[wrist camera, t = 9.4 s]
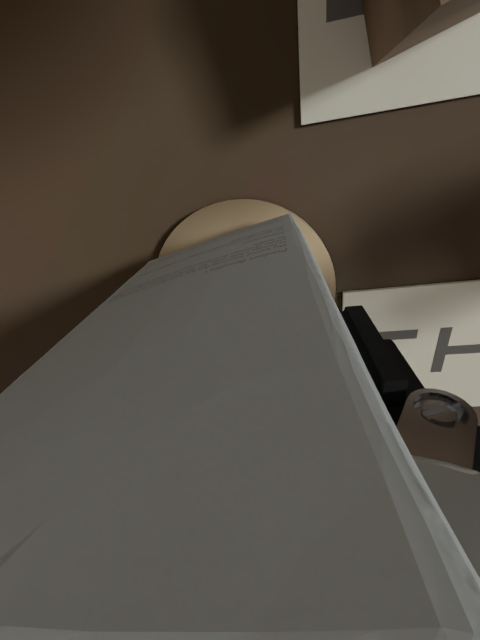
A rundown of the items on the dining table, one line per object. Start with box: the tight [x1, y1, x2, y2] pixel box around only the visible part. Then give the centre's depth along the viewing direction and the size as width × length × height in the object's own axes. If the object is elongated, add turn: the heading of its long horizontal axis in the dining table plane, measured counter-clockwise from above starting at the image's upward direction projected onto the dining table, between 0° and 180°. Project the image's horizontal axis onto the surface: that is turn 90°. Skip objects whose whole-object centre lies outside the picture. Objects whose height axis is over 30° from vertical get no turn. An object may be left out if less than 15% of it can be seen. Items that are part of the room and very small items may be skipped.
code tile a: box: [342, 280, 480, 406], centre depth 17 cm, size 9×9×1 cm
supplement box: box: [0, 214, 480, 640], centre depth 9 cm, size 7×7×13 cm
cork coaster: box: [158, 198, 336, 300], centre depth 16 cm, size 10×10×1 cm
